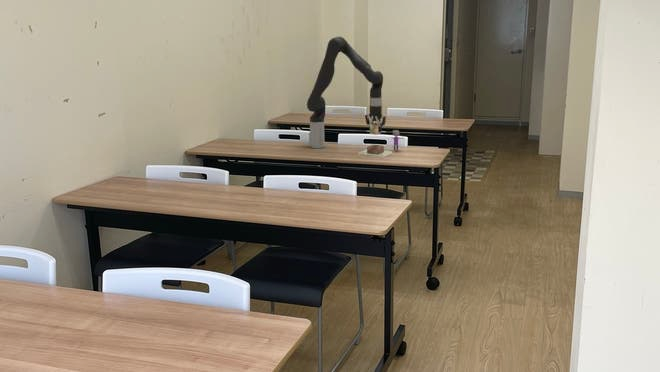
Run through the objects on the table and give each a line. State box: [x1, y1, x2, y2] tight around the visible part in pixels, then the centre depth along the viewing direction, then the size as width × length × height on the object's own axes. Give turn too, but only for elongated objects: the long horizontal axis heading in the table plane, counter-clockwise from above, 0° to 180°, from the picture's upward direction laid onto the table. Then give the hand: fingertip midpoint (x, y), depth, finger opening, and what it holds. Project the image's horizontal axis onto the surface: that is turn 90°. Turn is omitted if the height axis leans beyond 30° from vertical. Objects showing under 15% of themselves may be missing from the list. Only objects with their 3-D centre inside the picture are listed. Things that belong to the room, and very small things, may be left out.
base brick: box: [366, 143, 385, 155], centre depth 387 cm, size 8×8×4 cm
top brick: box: [369, 122, 382, 136], centre depth 383 cm, size 5×5×7 cm
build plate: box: [357, 148, 393, 158], centre depth 388 cm, size 18×14×2 cm
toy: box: [392, 129, 405, 152], centre depth 389 cm, size 10×6×15 cm, turn 84°
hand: (375, 131), depth 384 cm, fingers closed on top brick, 5 cm apart
